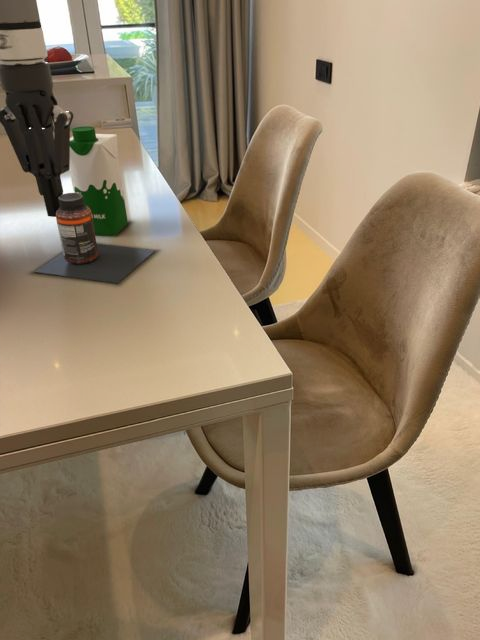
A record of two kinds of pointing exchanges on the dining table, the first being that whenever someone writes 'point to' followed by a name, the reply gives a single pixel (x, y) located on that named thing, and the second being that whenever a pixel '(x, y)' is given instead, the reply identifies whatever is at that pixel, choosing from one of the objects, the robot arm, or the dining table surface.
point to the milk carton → (98, 178)
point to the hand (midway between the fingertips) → (56, 213)
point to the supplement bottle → (76, 229)
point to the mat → (100, 264)
